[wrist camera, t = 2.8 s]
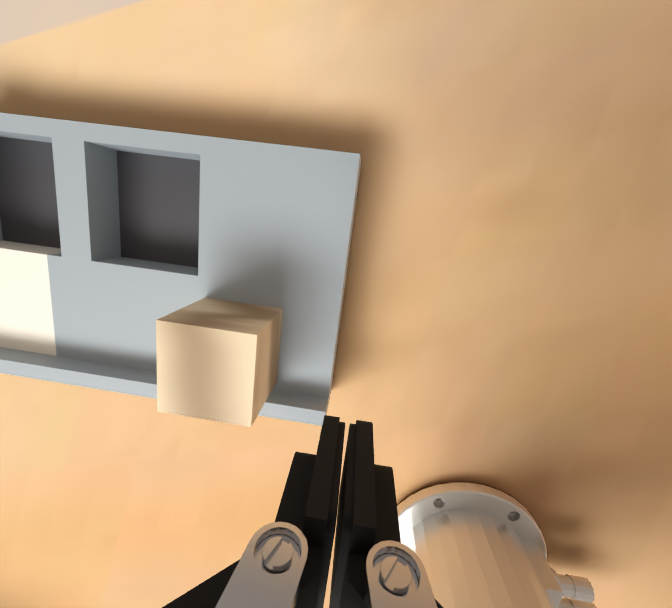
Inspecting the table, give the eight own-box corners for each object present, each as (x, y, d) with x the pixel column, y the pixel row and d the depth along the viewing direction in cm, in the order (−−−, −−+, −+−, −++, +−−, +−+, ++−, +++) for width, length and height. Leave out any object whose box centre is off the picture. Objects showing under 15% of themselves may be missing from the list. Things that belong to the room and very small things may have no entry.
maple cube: (283, 308, 20) (257, 335, 16) (276, 381, 22) (250, 426, 17) (205, 297, 21) (155, 319, 16) (203, 369, 22) (157, 411, 17)
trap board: (361, 163, 21) (359, 147, 16) (331, 390, 25) (323, 426, 20) (-20, 119, 22) (-114, 94, 18) (9, 339, 26) (-62, 362, 22)
